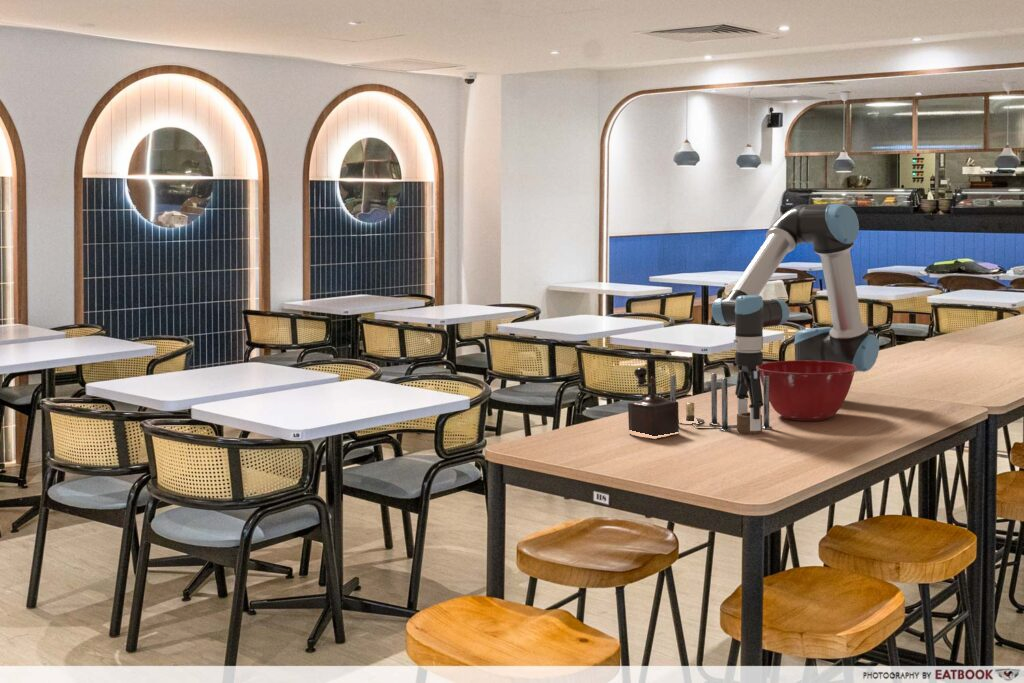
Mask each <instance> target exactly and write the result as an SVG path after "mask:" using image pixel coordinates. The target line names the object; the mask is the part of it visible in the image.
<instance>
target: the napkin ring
mask: <svg viewBox="0 0 1024 683" xmlns="http://www.w3.org/2000/svg"><path fill="white" fill-rule="evenodd" d="M736 425H737V427H736V432H737V431H738V432H739V433H742V434H741V435H747V434H752V435H759V434H762V433H763V429H762V426H763V415H762V414H761V431H750V412H748V413H739V414H738V413H737V414H736ZM738 432H737V433H738ZM739 433H738V434H739Z"/></svg>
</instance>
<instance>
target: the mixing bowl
mask: <svg viewBox="0 0 1024 683" xmlns="http://www.w3.org/2000/svg"><path fill="white" fill-rule="evenodd" d="M756 369H757V371H760V382H761V383H762V384H761V386H763V376H769V404H770V405H771V407H772V408H773V410H774V411H775V412H776V413H777V414H779V415H780V416H782V417H783V418H784V419H787V420H791V421H801V422H802V421H803V422H815V421H817V422H818V421H825V420H828V419H830V417H832V416H834V415H835V414H837V412H838V411H839V410H840V409H841V408H842V406H843V404H844V402H845V400H846V398H847V396H848V393H849V391H850V389H851V387H852V382H853V378H854V375H855V373H856V372H855V370H856V366H854V365H851V364H847V363H841V362H832V361H811V360H796V361H795V360H780V361H771V362H770V361H769V362H765V363H763V364H762V365H760V366H756Z"/></svg>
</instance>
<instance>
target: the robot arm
mask: <svg viewBox="0 0 1024 683" xmlns="http://www.w3.org/2000/svg"><path fill="white" fill-rule="evenodd" d="M859 230H860V224H859V219H858V215H857V213H856V211H855V210H854V209H853V208H852V207H851V206H850V205H847V204H843V203H842V204H841V203H836V202H835V203H818V204H817V203H816V204H813V203H812V204H810V203H809V204H807V203H806V204H799V205H795V206H794V207H792V208H790V209H789V210H787V211H786V212H784V213H783V214H781V215H780V216H779V217H778V218H777V219H775V221H774V222H773V223H772V225H771V226H770V227H769V229H768V230H767V231H766V233H765V241H763V243H762V244H761V246H760V247H759V249H758V250H757V252H756V253H755V255H754V257H753V258H752V259H751V261H750V263H749V264H748V265H747V267H746V268H745V269H744V271H743V273H742V274H741V275H740V276H739V279H738V280H737V281H736V282H735V284H734V285H733V287H732V288H731V290H730V291H729V293H728V294H727V296H726V297H719V298H716V299H714V301H713V302H712V305H711V309H710V310H711V316H712V318H713V320H714V321H715V322H716V323H719V324H724V325H735V333H734V334H735V338H734V339H733V341H732V342H733V343H734V344H735V350H736V351H735V352H734V354H735V356H734V358H735V359H734V362H735V365H736V366H737V368H738V370H737V378H736V385H735V392H734V394H735V396H736V397H737V414H739V413H748V410H749V411H750V431H761V415H762V413H761V411H762V410H761V409H762V407H764V397H763V391H762V384H761V383H762V381H761V378H760V371H759V370H757V366H760V365H762V364H764V363H763V359H764V358H763V357H764V353H763V351H762V350H764V334H763V332H764V328H770V327H774V328H775V327H778V326H780V325H783V324H785V323H786V322H787V321H788V320H789V317H790V308H789V306H788V304H787V303H786V301H784V300H783V299H780V298H779V299H777V298H775V299H774V298H772V299H763V297H762V296H761V293H762V291H763V290H764V288H765V287H766V285H767V284H768V282H769V281H770V279H771V278H772V276H773V275H774V273H775V272H776V270H777V269H778V267H780V265H781V263H782V262H783V260H784V259H785V257H786V255H787V254H788V253H790V252H791V253H792V252H793V251H794V250H795V248H796V246H798V245H801V244H805V243H806V244H812V246H813V250H814V253H815V254H817V255H819V256H820V261H821V266H822V272H823V278H824V282H825V288H826V294H827V299H828V305H829V310H830V316H831V321H832V322H831V323H832V326H824V327H823V326H822V327H814V328H805V329H800V330H797V332H795V335H794V344H793V345H794V361H796V360H811V361H832V362H841V363H847V364H851V365H854V366H856V370H855V372H854V373H857V372H862V373H865V372H868V371H870V370H871V369H872V368H873V366H875V364H876V363H877V362H876V361H877V359H878V356H879V353H880V343H879V339H878V337H877V336H876V335H874V334H870V332H869V331H870V330H869V326H868V325H867V324H866V323H864V322H863V321H862V316H861V310H860V304H859V298H858V292H857V286H856V282H855V275H854V270H853V268H854V267H853V264H852V257H851V251H850V250H851V249H852V248H853V247H854V244H855V243H854V242H855V241H856V240H857V238H858V237H859ZM748 400H750V404H749V405H748ZM748 408H749V409H748Z"/></svg>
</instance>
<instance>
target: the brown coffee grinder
mask: <svg viewBox="0 0 1024 683" xmlns="http://www.w3.org/2000/svg"><path fill="white" fill-rule="evenodd" d="M633 373H634V376H635V377H636V378H637V385H636V388H647V387H650V394H649V395H647V396H645V397H643V398H642V399H641V400H636V401H632V402H629V403H627V404H628V405H627V412H628V415H627V417H628V418H627V419H628V431H629V430H632V431H636V432H640V433H645V434H649V435H652V436H658V435H664V434H670V433H675V432H679V430H680V428H679V427H680V424H679V419H680V417H679V414H680V413H679V402H678V401H676V402H675V401H671V399H669V398H665V397H664V396H663V393H662V392H661V393H659V394H656V393H655V384H656V382H655V380H656V378H655V377H654V376H651V377H650V378H649V381H650V382H649V383H647V382H648V380H647V379H646V377H647V375H648V370H647V368H646V367H638V368H636V369H634V371H633ZM679 433H680V432H679Z"/></svg>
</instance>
